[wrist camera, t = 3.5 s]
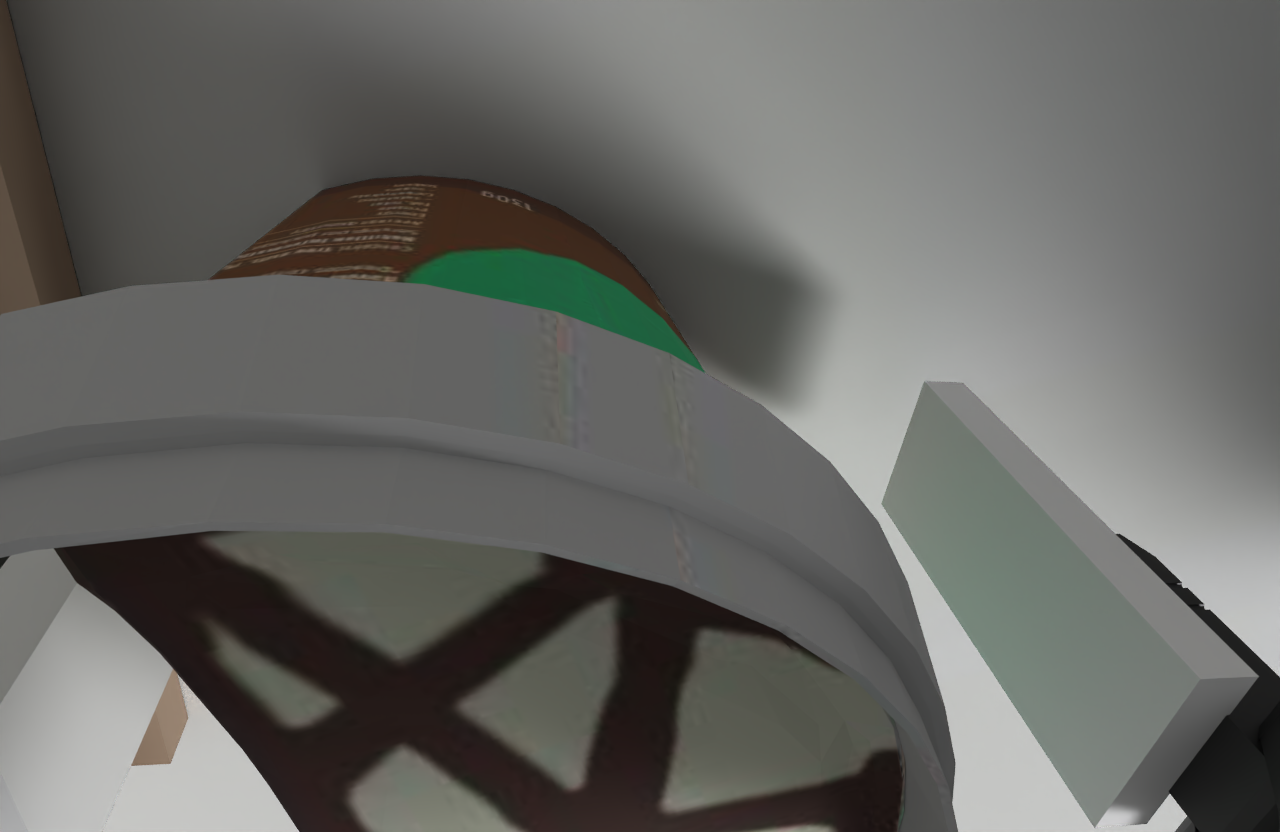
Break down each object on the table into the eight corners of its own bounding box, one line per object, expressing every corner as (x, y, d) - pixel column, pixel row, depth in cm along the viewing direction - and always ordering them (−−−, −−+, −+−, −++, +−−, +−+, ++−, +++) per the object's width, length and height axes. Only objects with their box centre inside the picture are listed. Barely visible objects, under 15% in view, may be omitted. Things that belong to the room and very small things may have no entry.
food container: (783, 553, 19) (1015, 1066, 10) (534, 628, 19) (564, 1199, 10) (663, -23, 12) (1045, 109, 4) (275, 96, 12) (-233, 498, 4)
